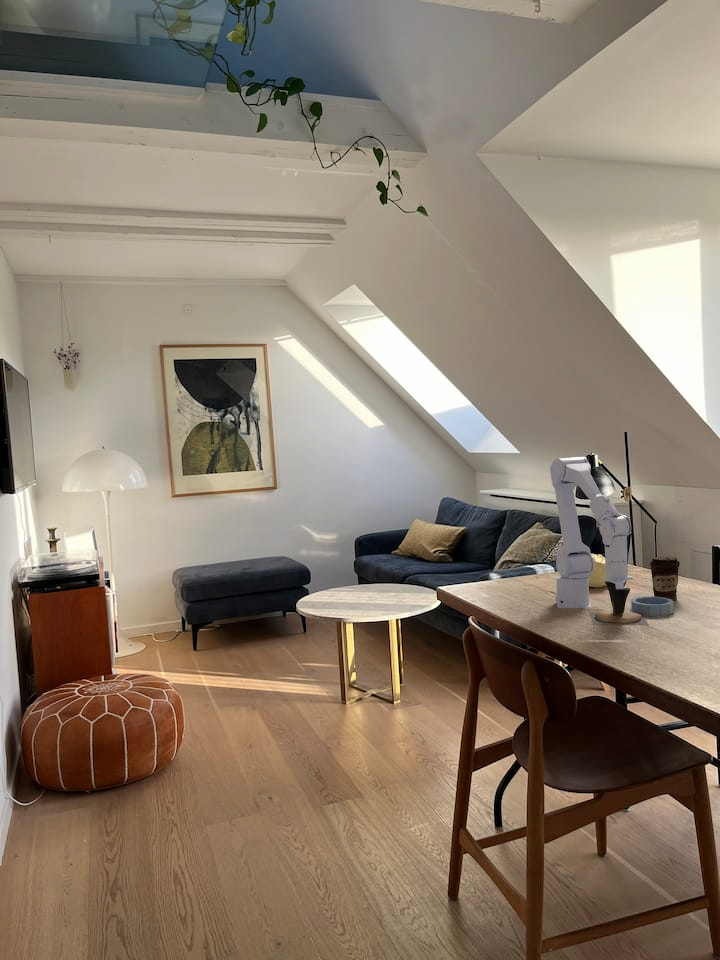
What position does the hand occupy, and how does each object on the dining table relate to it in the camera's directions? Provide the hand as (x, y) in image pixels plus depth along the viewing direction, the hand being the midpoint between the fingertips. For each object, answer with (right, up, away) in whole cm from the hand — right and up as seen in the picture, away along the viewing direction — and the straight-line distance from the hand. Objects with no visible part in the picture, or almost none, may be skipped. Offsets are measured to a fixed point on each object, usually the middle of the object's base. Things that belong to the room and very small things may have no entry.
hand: (617, 610), depth 209 cm
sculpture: (+7, 0, +45) cm, 45 cm away
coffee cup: (+21, -1, +19) cm, 28 cm away
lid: (0, -2, 0) cm, 2 cm away
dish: (+12, -2, +6) cm, 13 cm away
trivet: (0, -3, 0) cm, 3 cm away
